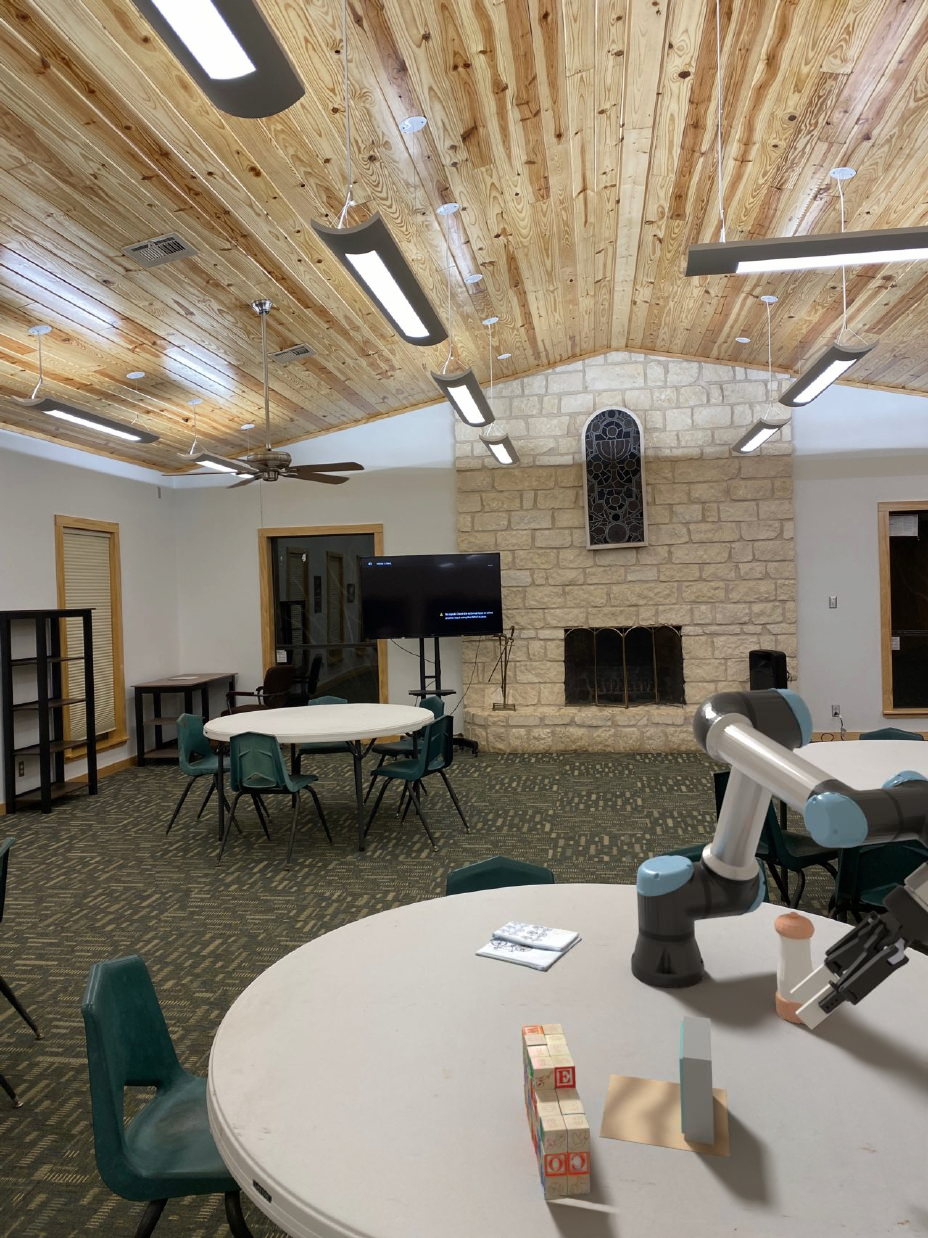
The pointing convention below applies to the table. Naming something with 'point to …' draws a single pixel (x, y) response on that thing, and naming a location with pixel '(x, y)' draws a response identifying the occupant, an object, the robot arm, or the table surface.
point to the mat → (658, 1115)
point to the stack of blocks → (555, 1112)
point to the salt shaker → (792, 961)
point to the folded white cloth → (542, 939)
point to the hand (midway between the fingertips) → (800, 1009)
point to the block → (696, 1080)
